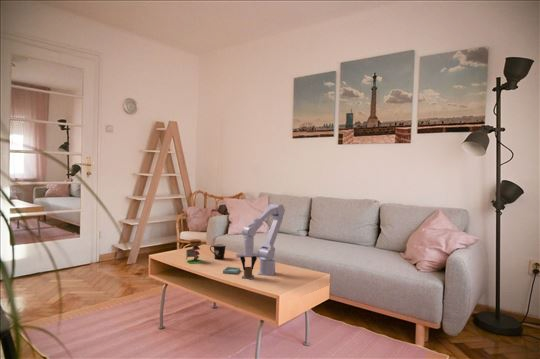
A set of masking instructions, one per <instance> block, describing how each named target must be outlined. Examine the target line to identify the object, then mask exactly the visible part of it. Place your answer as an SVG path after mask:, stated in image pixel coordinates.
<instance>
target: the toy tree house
mask: <svg viewBox="0 0 540 359" xmlns="http://www.w3.org/2000/svg"><path fill="white" fill-rule="evenodd" d="M201 245H202V240H201V239H190V240H189V246H190V247H191V248H189V249H186V250H185V260H186V262H187V263H188V264H190V265H191V264H194V265H196V264H197V263H198V264H201V263H203V262H204V260H203V259H199V258H200V256H199V255H200V252H199V250H201V248H200V247H201ZM188 258H192V259H189V260H188ZM198 264H197V265H198Z"/></svg>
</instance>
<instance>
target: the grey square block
mask: <svg viewBox="0 0 540 359" xmlns="http://www.w3.org/2000/svg"><path fill="white" fill-rule="evenodd" d="M254 277H255V275H254V274H252V277H245V276H244V274H243V275H242V276H241V279H244V280H245V279H246V280H253V278H254Z"/></svg>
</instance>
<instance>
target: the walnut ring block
mask: <svg viewBox="0 0 540 359" xmlns="http://www.w3.org/2000/svg"><path fill="white" fill-rule="evenodd" d="M243 275H244V276H245V277H252V275H253V270H252V267H251V266H245V270H243Z"/></svg>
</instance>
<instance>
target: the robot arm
mask: <svg viewBox="0 0 540 359" xmlns="http://www.w3.org/2000/svg"><path fill="white" fill-rule="evenodd" d="M285 212H286V209H285V207H284V205H283V204H282V203H281V204H279V203H269V204H268V205H267V206H266V209H265V210H264V211H263V213H261V214H260V215H259V217H256V218H255V217H254V218H253V220H252V221H251V222H250V223H248V225H245V226H244V227H243V228H242V231H241V233H242V235H243V253H236V254H235V258H236V259H240V261H241V264H242V269H243V271H244V270H245V267H246V258H251V262H250V263H251V265H250V267H252V271H253V270H254V267H255V264H256V262H257V259H259V272H258V273H257V275H262V276H274V274H275V273H276V260H275V259H273V258H275V252H276V248H275V242H276V239H277V236H278V233H279V231H280V228H281V225H282V222H283V218H284V214H285ZM270 216H271V217H272V219H273V220H272V224H271V226H270V227H269V231H268V234H267V236H266V239H265V241H264V242H263V243H262V244H261V245H260V247H259V248H258V250H257V252H254V240H255V238H254V237H255V236H256V235H257V231H258V230H259V229H260V228H261V227H262V226H263V224H264V223H263V222H264V221H266V220H267V219H268V218H269V217H270Z"/></svg>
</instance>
